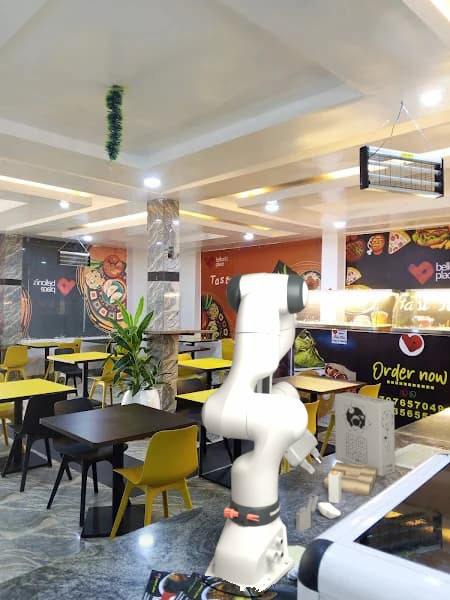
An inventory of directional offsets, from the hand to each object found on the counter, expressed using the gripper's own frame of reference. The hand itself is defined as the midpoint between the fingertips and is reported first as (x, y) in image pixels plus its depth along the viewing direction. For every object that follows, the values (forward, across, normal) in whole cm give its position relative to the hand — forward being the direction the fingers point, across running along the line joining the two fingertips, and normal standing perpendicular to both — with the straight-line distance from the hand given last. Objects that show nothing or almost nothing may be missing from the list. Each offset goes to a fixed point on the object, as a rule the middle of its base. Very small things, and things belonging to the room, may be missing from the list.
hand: (317, 466), depth 146 cm
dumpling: (+11, -12, +2) cm, 17 cm away
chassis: (+12, +16, +1) cm, 20 cm away
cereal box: (+13, +34, +1) cm, 36 cm away
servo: (+10, 0, +3) cm, 11 cm away
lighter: (+8, -20, +5) cm, 22 cm away
